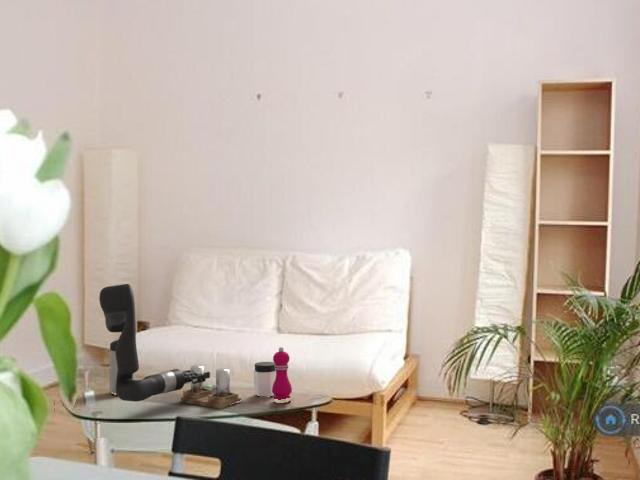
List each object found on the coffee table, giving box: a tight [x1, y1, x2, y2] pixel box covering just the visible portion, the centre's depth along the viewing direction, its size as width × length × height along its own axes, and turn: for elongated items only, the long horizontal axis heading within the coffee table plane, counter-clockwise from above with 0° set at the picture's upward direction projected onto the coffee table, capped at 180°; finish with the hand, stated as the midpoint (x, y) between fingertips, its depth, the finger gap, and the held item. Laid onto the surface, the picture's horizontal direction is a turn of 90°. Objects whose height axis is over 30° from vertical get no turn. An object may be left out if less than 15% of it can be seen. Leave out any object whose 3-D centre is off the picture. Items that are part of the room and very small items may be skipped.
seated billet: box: [215, 367, 231, 397], centre depth 259 cm, size 5×5×11 cm
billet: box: [190, 364, 205, 393], centre depth 267 cm, size 5×5×11 cm
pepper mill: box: [272, 346, 293, 400], centre depth 261 cm, size 7×7×20 cm
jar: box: [253, 361, 276, 397], centre depth 272 cm, size 9×8×12 cm
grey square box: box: [206, 384, 216, 394], centre depth 275 cm, size 6×6×3 cm
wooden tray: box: [180, 388, 242, 410], centre depth 263 cm, size 21×11×4 cm, turn 54°
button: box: [204, 384, 212, 389], centre depth 275 cm, size 3×3×3 cm
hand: (201, 373), depth 268 cm, fingers open, 8 cm apart
